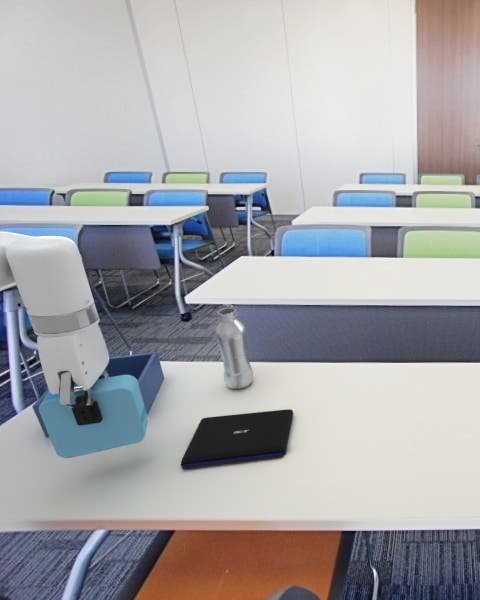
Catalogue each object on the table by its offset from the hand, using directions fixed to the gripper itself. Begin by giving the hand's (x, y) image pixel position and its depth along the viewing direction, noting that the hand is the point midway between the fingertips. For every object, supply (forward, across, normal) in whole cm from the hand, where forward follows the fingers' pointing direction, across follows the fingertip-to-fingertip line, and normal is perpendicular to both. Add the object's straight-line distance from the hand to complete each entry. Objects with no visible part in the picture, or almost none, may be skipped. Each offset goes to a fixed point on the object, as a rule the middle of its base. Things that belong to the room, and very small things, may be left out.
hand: (97, 411), depth 68 cm
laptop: (+13, -1, +21) cm, 24 cm away
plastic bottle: (+13, -22, +19) cm, 32 cm away
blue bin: (+13, -22, -7) cm, 26 cm away
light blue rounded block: (+7, 0, 0) cm, 7 cm away
